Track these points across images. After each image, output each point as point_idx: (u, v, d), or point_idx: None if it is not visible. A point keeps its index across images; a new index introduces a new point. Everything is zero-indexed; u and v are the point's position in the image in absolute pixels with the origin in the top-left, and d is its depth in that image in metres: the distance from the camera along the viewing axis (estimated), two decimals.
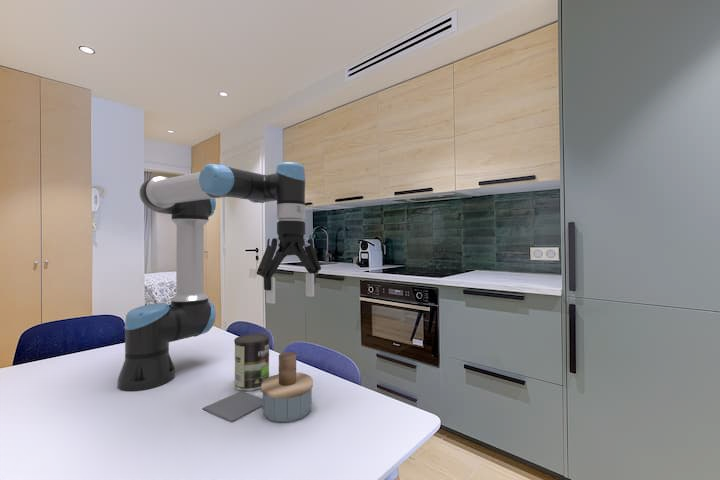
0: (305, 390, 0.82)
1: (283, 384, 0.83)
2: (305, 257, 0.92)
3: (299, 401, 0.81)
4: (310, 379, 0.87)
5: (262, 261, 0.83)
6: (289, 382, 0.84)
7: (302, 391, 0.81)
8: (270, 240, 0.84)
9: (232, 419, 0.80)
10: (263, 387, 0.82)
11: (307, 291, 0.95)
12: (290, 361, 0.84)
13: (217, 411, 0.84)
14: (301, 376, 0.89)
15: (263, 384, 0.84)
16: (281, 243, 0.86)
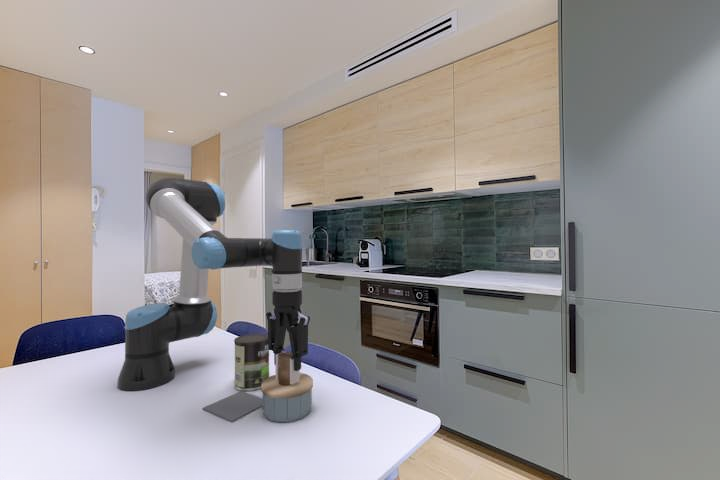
0: (305, 390, 0.82)
1: (283, 384, 0.83)
2: (290, 334, 0.84)
3: (299, 401, 0.81)
4: (310, 379, 0.87)
5: None
6: (289, 382, 0.84)
7: (302, 391, 0.81)
8: None
9: (232, 419, 0.80)
10: (263, 387, 0.82)
11: None
12: None
13: (217, 411, 0.84)
14: (301, 376, 0.89)
15: (263, 384, 0.84)
16: (274, 314, 0.87)
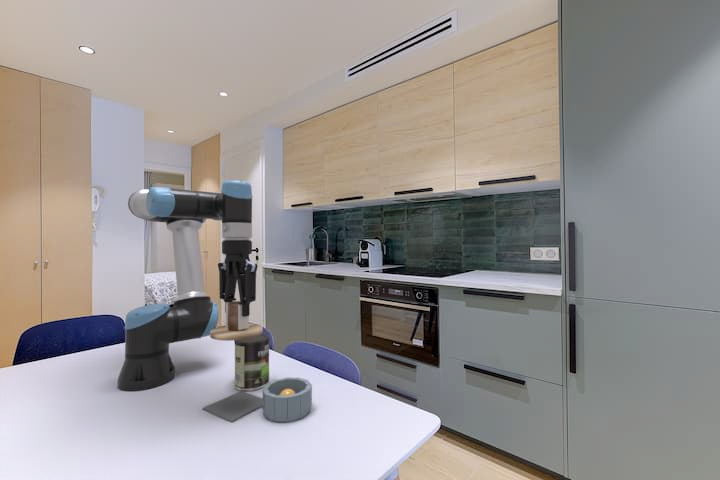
0: (252, 334, 0.84)
1: (231, 330, 0.86)
2: (238, 281, 0.86)
3: (299, 401, 0.81)
4: (260, 327, 0.90)
5: None
6: (237, 328, 0.86)
7: (249, 335, 0.84)
8: None
9: (232, 419, 0.80)
10: (211, 332, 0.85)
11: None
12: None
13: (217, 411, 0.84)
14: (252, 325, 0.91)
15: (212, 330, 0.87)
16: (225, 263, 0.90)
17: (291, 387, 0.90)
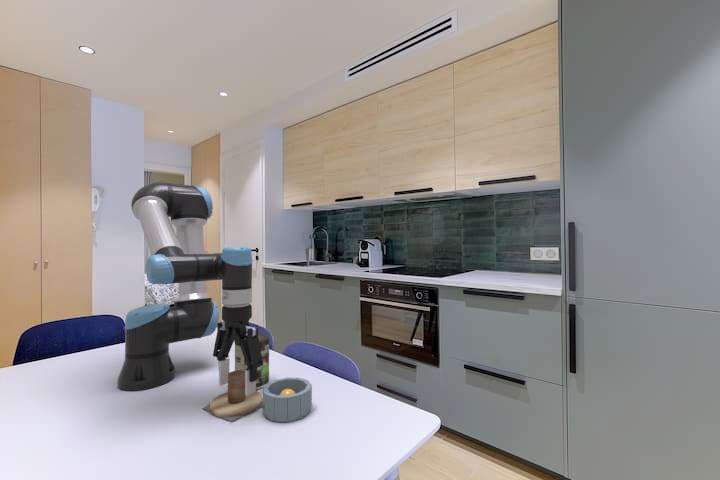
0: (251, 408, 0.84)
1: (231, 402, 0.86)
2: (241, 347, 0.85)
3: (299, 401, 0.81)
4: (260, 397, 0.89)
5: None
6: (237, 400, 0.86)
7: (249, 409, 0.83)
8: None
9: (232, 419, 0.80)
10: (211, 405, 0.85)
11: None
12: (238, 380, 0.86)
13: None
14: (252, 394, 0.91)
15: (212, 402, 0.86)
16: None
17: (291, 387, 0.90)
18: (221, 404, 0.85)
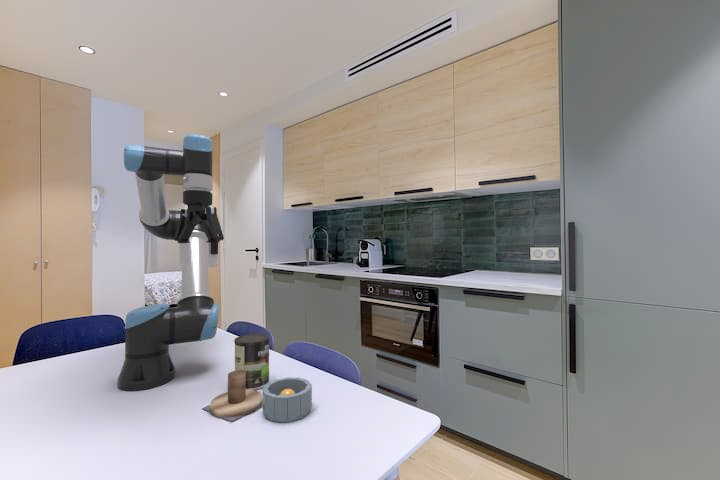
0: (252, 408, 0.84)
1: (231, 402, 0.86)
2: (202, 225, 0.91)
3: (299, 401, 0.81)
4: (260, 397, 0.89)
5: None
6: (237, 400, 0.86)
7: (249, 409, 0.83)
8: None
9: (232, 419, 0.80)
10: (211, 405, 0.85)
11: None
12: (238, 380, 0.86)
13: None
14: (252, 394, 0.91)
15: (212, 402, 0.86)
16: None
17: (291, 387, 0.90)
18: (221, 404, 0.85)
